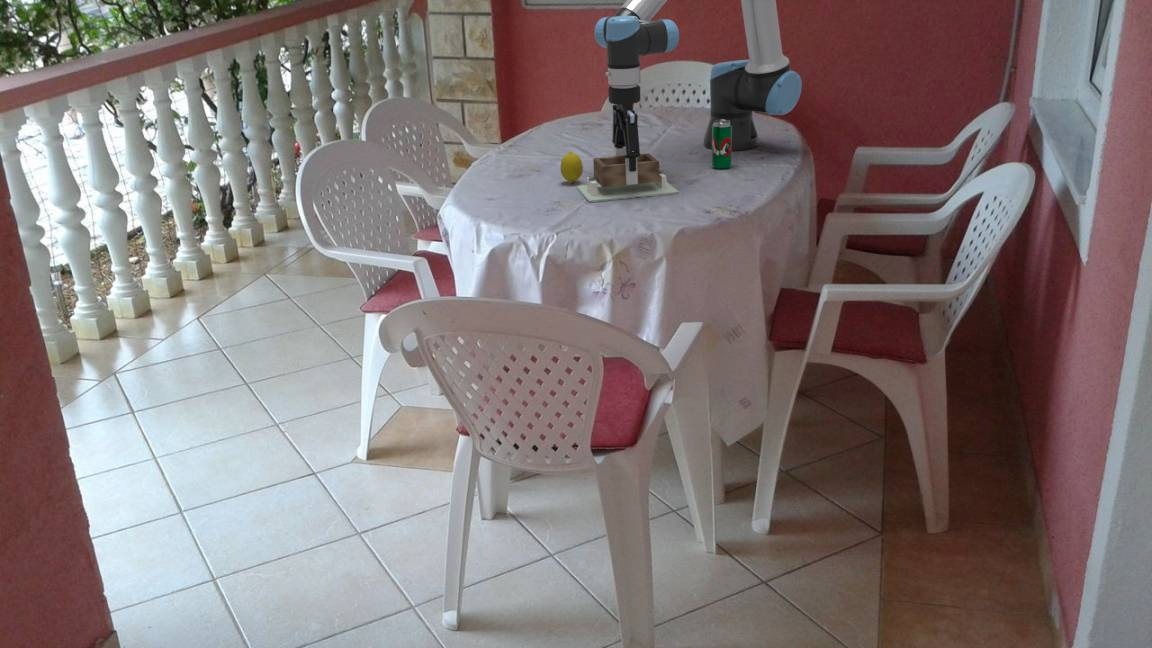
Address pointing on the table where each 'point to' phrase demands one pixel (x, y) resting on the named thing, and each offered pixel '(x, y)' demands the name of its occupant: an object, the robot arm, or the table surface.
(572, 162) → the lemon
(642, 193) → the wall board
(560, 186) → the table surface
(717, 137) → the soda can
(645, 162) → the brown wooden open box
